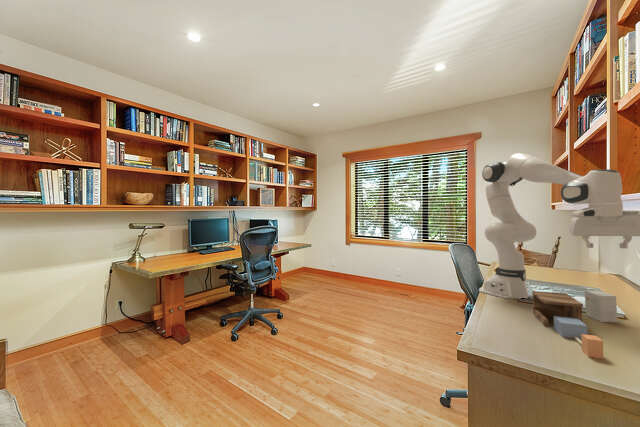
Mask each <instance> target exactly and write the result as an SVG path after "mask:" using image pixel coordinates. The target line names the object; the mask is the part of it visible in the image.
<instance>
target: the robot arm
mask: <svg viewBox="0 0 640 427" xmlns="http://www.w3.org/2000/svg"><path fill="white" fill-rule="evenodd" d="M481 175H482V179H483V180H484V181H485V182H487V183H488V184H486V185H485V194H486V195H485V196H486V200H487V204H488V207H489V210H490V213H491V215H492V216H493V217H495V218H497V219H498V220H500V221H501V222H495V223H492V224H491V223H490V224H488V225H487V226H486V227H485V229H484V235H485V238H486V240H488V241H489V243H491V244H492V245H493V246H494V248H495V250H496V252H497V256H498V266H497V267H496V268H495V269H494V270H493V272H495V274H493V275H491V276H490V277H488V278H485V280H484V282H483V286H481V287H479V289H478V291H479V292H480V293H483V294H486V295H487V294H488V295H490V296H494V297H499V298H501V299H502V298H503V299H507V300H509V299H518V300H520V299H521V298H525V299H529V298H530V294H529V292H528V287H527V282H526V281H527V280H526V279H527V273H526V272H527V271H526V269H525V255H524V254H523V252H522V251H520V250H518V249H517V248H516V246H515V243H525V242H529V241H531V240H534V239H535V238H536V236H537V229H536V227H535V225H534V224H532V223H531V222H529V221H527V220H526V219H524V217H523V216H521V214H520V213H519V212H518V210H517V209H516V206H515V204H514V201H513V199H512V195H511V193H510V190H509V187H513V186H516V185H517V183H519V182H521V181H523V180H526V181H529V182H533V183H542V184H543V183H544V184H545V183H548V184H558V185H562V186H561V188H560V197H561V199H562V200H563V201H564V202H565V203H567V204H574V205H575V204H577V205H584V204H585V205H586V204H587V205H588V206H587V207H585V208H582V209H581V208H580V209H578V210H574V211H573V212H572V214H571V215H572V216H573V217H572V218H571V219H570V224H569V233H570V235H571V236H575V237H581V238H582V240H583V242H584V243H585V246H586V248H587V249H589V248H592V249H593V248H594V243H593V242H590V240H589V239H590V237H622V239H624V240H623V242H622V243H621V242H619V244H618V245H619V248H620V249H628V247H629V244H630V242H631V241H632V240H633V237H640V211H638V210H624V206H623V205H624V204H623V200H622V194H623V183H622V181H623V180H622V177H621V173H620V172H619V171H618V170H616V169H610V168H609V169H607V168H606V169H604V168H603V169H592V170H589V171H588V173H587V174H585V175H582V174H579V173H576V172H574V171H570V170H568V169H564V168H561V167H559V166H558V165H555V164H553V163H551V162H548V161H546V160H544V159H541V158H539V157H537V156H534V155H532V154H527V153H523V152H517V153H513V154H512V155H511V156H510V157H509V158H508V159H507V161H506V162H501V161H497V162H492V163H489V164H486V165H485V166H484V168H483V169H482V173H481ZM528 297H529V298H528ZM521 300H522V299H521Z"/></svg>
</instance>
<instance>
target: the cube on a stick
mask: <svg viewBox="0 0 640 427" xmlns="http://www.w3.org/2000/svg"><path fill="white" fill-rule="evenodd" d="M582 321H583V320H582ZM582 321H581V320H579V319H578V318H570V317H560V316H554V317H553V330H555V332H556V333H558V335H560V337H561V338H568V339H575V341H577V342H578V343H579V344H580V345H581V352H582V351H583V352H584V353H585V354H586V355H587V356H588V357H587V356H586V355H585V354H584V353H583V352H582V353H583V354H584V355H585V356H586V357H587V358H591V357H595V358H594V359H598V358H602V359H601V360H604V359H605V358H604V340H602V339H601V338H600V337H599V336H597V335H593V334H591V335H590V334H588V325H587V324H586V323H585V322H584V321H583V322H582Z"/></svg>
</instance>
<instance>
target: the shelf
mask: <svg viewBox="0 0 640 427" xmlns="http://www.w3.org/2000/svg"><path fill="white" fill-rule="evenodd" d="M531 295H532V314H533V316H535V318H536V319H537V320H538V321H539V322H540V323H541V324H542V325H543V326H544V327H549V319H548V318H547V317H551V318H554V316H560V317H570V318H578V319H579V320H581V321H582V322H583V323H584V321H583V308H584V303H582V302H581V301H579V300H578V299H576V298H574V297H573V296H571V295H569V294H567V292H566V293H563V292H551V291H537V290H535V291H534V290H532V294H531Z"/></svg>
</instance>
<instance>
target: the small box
mask: <svg viewBox="0 0 640 427" xmlns="http://www.w3.org/2000/svg"><path fill="white" fill-rule="evenodd" d="M584 304H585V305H584V306H585V315H586V316H587V317H590V318H592V319H594V320H596V321H598V322H600V323H618V310H617V309H618V308H617V296H616V295H614V294H610V293H607V292H604V291H602V290H588V289H587V290H584Z"/></svg>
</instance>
